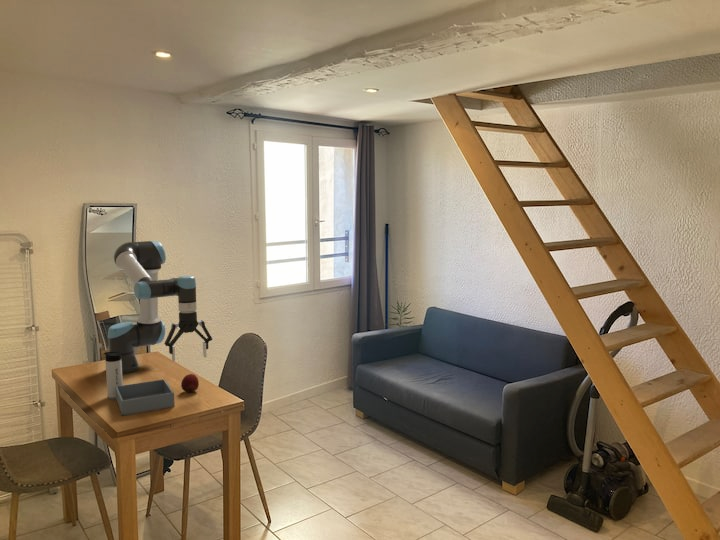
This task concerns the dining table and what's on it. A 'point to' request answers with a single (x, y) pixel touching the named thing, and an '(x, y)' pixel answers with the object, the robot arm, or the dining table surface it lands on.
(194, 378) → the apple
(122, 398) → the tub
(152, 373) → the dining table surface
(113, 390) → the travel mug
